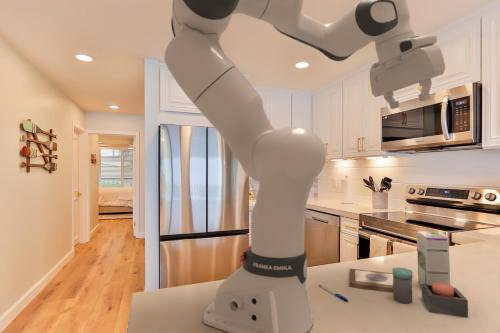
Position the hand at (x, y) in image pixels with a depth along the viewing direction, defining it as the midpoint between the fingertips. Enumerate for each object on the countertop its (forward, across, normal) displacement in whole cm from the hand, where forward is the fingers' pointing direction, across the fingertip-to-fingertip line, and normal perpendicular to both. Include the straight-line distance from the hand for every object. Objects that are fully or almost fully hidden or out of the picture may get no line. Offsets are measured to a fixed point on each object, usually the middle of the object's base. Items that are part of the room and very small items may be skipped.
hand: (409, 104), depth 72 cm
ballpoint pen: (+41, -4, -33) cm, 53 cm away
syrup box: (+48, 0, -7) cm, 49 cm away
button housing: (+46, +9, -14) cm, 49 cm away
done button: (+44, +9, -13) cm, 46 cm away
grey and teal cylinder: (+44, +4, -19) cm, 49 cm away
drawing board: (+45, -7, -18) cm, 49 cm away
